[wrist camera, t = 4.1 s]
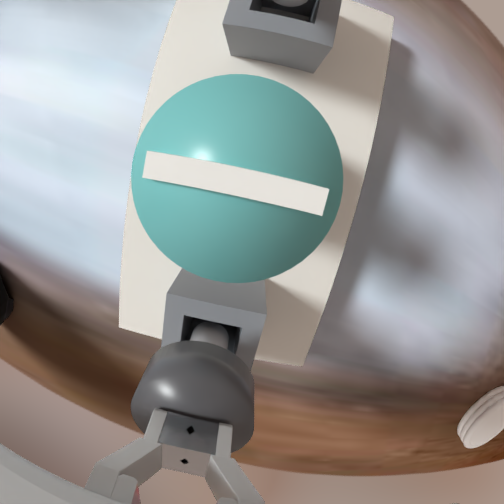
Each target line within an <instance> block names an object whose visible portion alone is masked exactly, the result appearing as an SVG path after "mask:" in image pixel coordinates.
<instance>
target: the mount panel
mask: <svg viewBox="0 0 504 504" xmlns="http://www.w3.org/2000/svg"><path fill="white" fill-rule="evenodd" d="M393 21H394V17H393V16H390V15H388V14H386V13H383V12H381V11H378V10H376V9H373V8H371V7H368V6H366V5H363V4H360V3H357V2H354V1H352V0H308V1H307V2H306V3H304V4H302V5H300V6H295V7H287V6H283V5H280V4H277V3H276V2H274V1H273V0H176V3H175V5H174V8H173V11H172V14H171V17H170V19H169V22H168V25H167V28H166V31H165V34H164V37H163V40H162V44H161V47H160V50H159V53H158V57H157V60H156V64H155V67H154V71H153V75H152V78H151V82H150V86H149V90H148V94H147V98H146V102H145V106H144V111H143V115H142V120H141V124H140V129H139V134H138V139H137V143H138V141H139V138H140V136H141V134H142V132H143V130H144V128H145V126H146V125H147V123H148V121H149V120H150V119H151V117H152V116H153V115H154V113H155V112H156V111H157V110H158V109H159V108H160V107H161V106H162V105H163V104H164V103H165V102H166V101H167V100H168V99H169V98H171V97H172V96H173V95H174V94H176V93H177V92H179V91H180V90H182V89H184V88H185V87H187V86H189V85H191V84H193V83H196V82H198V81H201V80H203V79H207V78H211V77H214V76H220V75H227V74H248V75H255V76H261V77H264V78H268V79H272V80H274V81H277V82H279V83H281V84H284V85H286V86H288V87H289V88H291V89H293V90H294V91H296V92H298V93H299V94H301V95H302V96H303V97H304V98H306V99H307V100H308V101H309V102H310V103H311V104H312V105H313V106H314V107H315V108H316V109H317V110H318V111H319V112H320V114H321V115H322V116H323V118H324V119H325V121H326V122H327V123H328V125H329V127H330V129H331V131H332V133H333V134H334V136H335V139H336V142H337V144H338V147H339V150H340V155H341V159H342V165H343V192H342V197H341V202H340V206H339V209H338V212H337V215H336V218H335V220H334V222H333V224H332V226H331V228H330V230H329V232H328V233H327V235H326V236H325V238H324V239H323V241H322V242H321V243H320V244H319V246H318V247H317V248H316V249H315V250H314V251H313V252H312V253H311V254H310V255H309V256H308V257H307V258H305V259H304V260H303V261H302V262H300V263H299V264H297V265H296V266H294V267H293V268H291V269H289V270H287V271H285V272H283V273H281V274H279V275H277V276H274V277H271V278H268V279H265V280H260V281H256V282H247V283H226V282H219V281H213V280H210V279H206V278H203V277H200V276H198V275H195V274H193V273H191V272H188V271H187V270H185V269H183V268H182V267H180V266H178V265H177V264H175V263H174V262H173V261H171V260H170V259H169V258H167V257H166V256H165V255H164V254H163V253H162V252H161V251H160V250H159V249H158V248H157V246H156V245H155V244H154V243H153V241H152V240H151V239H150V238H149V236H148V234H147V233H146V231H145V229H144V228H143V226H142V224H141V221H140V219H139V217H138V214H137V211H136V208H135V204H134V201H133V194H132V187H131V179H130V186H129V193H128V201H127V209H126V217H125V226H124V236H123V248H122V261H121V277H120V300H119V327H120V328H123V329H127V330H130V331H134V332H137V333H141V334H145V335H148V336H152V337H156V338H160V339H162V345H161V348H162V347H164V346H166V345H169V344H171V343H175V342H179V341H190V339H191V336H192V333H193V330H194V328H195V327H196V326H197V325H198V324H200V323H203V322H215V323H218V324H220V325H221V326H223V327H224V328H225V329H226V331H227V333H228V336H229V341H228V348H227V350H229V351H230V352H232V353H233V354H235V355H236V356H238V357H239V358H240V359H241V360H242V361H243V362H244V363H245V364H246V365H247V367H248V368H249V370H250V371H251V368H252V365H253V361H254V359H256V360H262V361H268V362H274V363H281V364H287V365H294V366H301V367H302V366H303V364H304V361H305V359H306V356H307V354H308V351H309V349H310V346H311V344H312V341H313V338H314V336H315V333H316V330H317V328H318V325H319V322H320V319H321V317H322V314H323V311H324V308H325V306H326V303H327V300H328V297H329V294H330V291H331V288H332V285H333V282H334V279H335V276H336V273H337V270H338V267H339V264H340V261H341V258H342V254H343V251H344V248H345V245H346V242H347V238H348V235H349V231H350V228H351V225H352V221H353V218H354V214H355V211H356V207H357V203H358V200H359V196H360V192H361V188H362V185H363V181H364V177H365V173H366V169H367V165H368V160H369V156H370V152H371V148H372V143H373V139H374V134H375V130H376V125H377V120H378V115H379V110H380V105H381V100H382V95H383V89H384V83H385V78H386V72H387V65H388V59H389V52H390V45H391V38H392V30H393ZM136 146H137V144H136Z"/></svg>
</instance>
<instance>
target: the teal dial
mask: <svg viewBox="0 0 504 504" xmlns="http://www.w3.org/2000/svg"><path fill="white" fill-rule="evenodd" d="M131 187H132V194H133V201H134V204H135V208H136V211H137V214H138V217H139V219H140V221H141V224H142V226H143V228H144V229H145V231H146V233H147V234H148V236H149V238H150V239H151V240H152V241H153V243H154V244H155V245H156V246H157V248H158V249H159V250H160V251H161V252H162V253H163V254H164V255H165V256H166V257H167V258H169V259H170V260H171V261H173V262H174V263H175V264H177V265H178V266H180V267H182V268H183V269H185V270H187V271H188V272H191V273H193V274H195V275H198V276H200V277H203V278H206V279H210V280H213V281H219V282H226V283H247V282H256V281H260V280H265V279H268V278H271V277H274V276H277V275H279V274H281V273H283V272H285V271H287V270H289V269H291V268H293V267H294V266H296V265H297V264H299V263H300V262H302V261H303V260H304V259H305V258H307V257H308V256H309V255H310V254H311V253H312V252H313V251H314V250H315V249H316V248H317V247H318V246H319V244H320V243H321V242H322V241H323V239H324V238H325V236H326V235H327V233H328V232H329V230H330V228H331V226H332V224H333V222H334V220H335V218H336V215H337V212H338V209H339V206H340V202H341V197H342V192H343V165H342V159H341V155H340V150H339V147H338V144H337V142H336V139H335V136H334V134H333V133H332V131H331V129H330V127H329V125H328V123H327V122H326V121H325V119H324V118H323V116H322V115H321V114H320V112H319V111H318V110H317V109H316V108H315V107H314V106H313V105H312V104H311V103H310V102H309V101H308V100H307V99H306V98H304V97H303V96H302V95H301V94H299V93H298V92H296V91H294V90H293V89H291V88H289V87H288V86H286V85H284V84H281V83H279V82H277V81H274V80H272V79H268V78H264V77H261V76H255V75H248V74H227V75H220V76H214V77H211V78H207V79H203V80H201V81H198V82H196V83H193V84H191V85H189V86H187V87H185V88H184V89H182V90H180V91H179V92H177V93H176V94H174V95H173V96H172V97H171V98H169V99H168V100H167V101H166V102H165V103H164V104H163V105H162V106H161V107H160V108H159V109H158V110H157V111H156V112H155V113H154V115H153V116H152V117H151V119H150V120H149V121H148V123H147V125H146V126H145V128H144V130H143V132H142V134H141V136H140V138H139V141H138V143H137V146H136V149H135V153H134V157H133V162H132V171H131Z"/></svg>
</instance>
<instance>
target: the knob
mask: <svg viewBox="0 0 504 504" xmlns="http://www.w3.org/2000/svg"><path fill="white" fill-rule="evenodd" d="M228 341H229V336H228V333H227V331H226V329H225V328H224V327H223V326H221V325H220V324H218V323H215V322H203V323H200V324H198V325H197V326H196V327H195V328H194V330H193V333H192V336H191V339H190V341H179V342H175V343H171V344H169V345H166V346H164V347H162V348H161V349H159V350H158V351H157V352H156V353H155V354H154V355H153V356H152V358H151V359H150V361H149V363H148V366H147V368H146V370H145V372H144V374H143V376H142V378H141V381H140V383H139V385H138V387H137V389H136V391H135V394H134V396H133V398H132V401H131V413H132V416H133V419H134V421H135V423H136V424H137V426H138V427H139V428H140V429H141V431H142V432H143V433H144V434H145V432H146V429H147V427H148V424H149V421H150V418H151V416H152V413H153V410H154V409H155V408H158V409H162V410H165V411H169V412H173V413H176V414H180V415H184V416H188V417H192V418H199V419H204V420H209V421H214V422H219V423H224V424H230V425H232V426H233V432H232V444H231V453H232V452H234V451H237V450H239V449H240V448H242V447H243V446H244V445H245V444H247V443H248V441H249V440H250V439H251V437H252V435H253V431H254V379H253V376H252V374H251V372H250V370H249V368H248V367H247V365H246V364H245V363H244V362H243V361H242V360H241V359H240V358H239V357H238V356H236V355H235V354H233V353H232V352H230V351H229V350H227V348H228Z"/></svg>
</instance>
